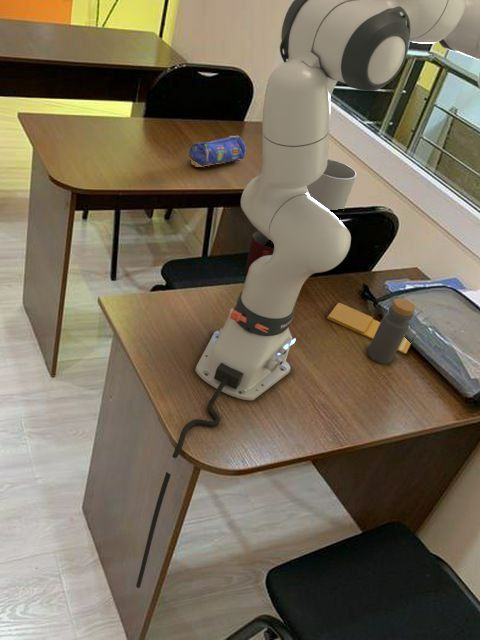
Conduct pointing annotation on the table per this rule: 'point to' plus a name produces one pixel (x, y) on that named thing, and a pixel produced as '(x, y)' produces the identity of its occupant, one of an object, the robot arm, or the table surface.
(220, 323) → the table surface
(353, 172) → the cylinder vase
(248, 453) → the table surface
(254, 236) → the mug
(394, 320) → the bottle
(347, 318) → the flat rectangular block
